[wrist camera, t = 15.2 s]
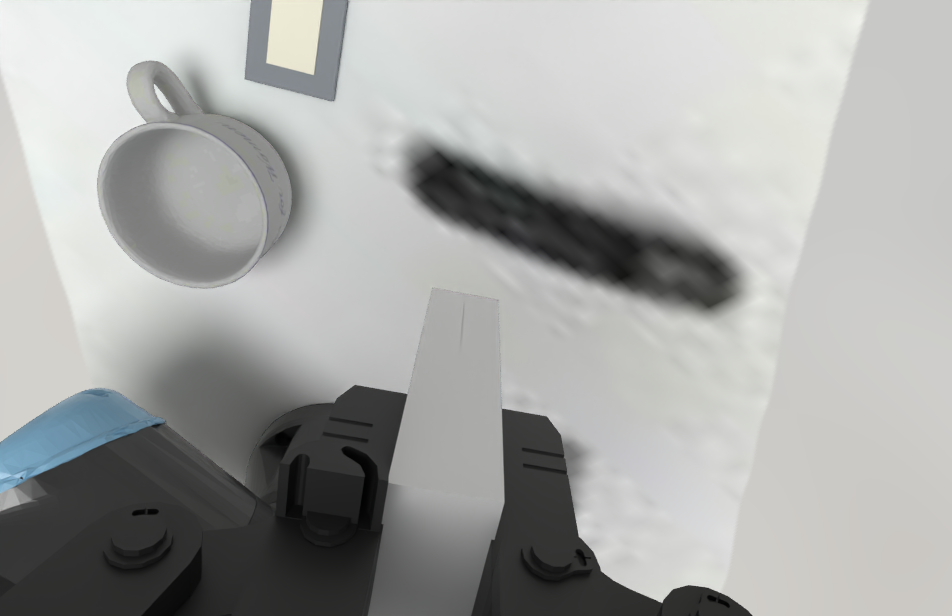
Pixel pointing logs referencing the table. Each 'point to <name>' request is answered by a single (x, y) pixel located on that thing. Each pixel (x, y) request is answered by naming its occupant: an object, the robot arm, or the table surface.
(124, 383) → the table surface
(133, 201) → the teacup
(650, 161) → the table surface
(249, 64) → the label plate
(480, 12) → the table surface
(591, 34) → the table surface
